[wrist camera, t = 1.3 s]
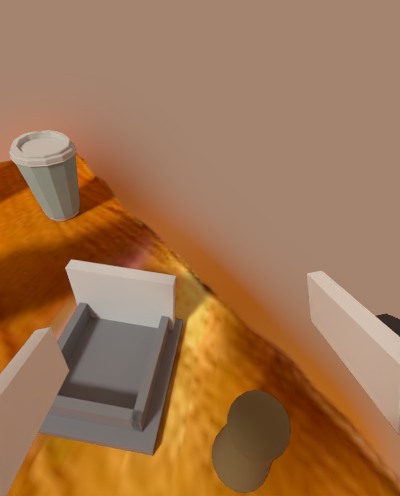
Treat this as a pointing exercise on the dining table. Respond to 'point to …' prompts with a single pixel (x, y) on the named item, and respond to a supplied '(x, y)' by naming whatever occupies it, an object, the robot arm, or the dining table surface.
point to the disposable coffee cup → (49, 171)
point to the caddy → (116, 357)
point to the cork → (250, 440)
